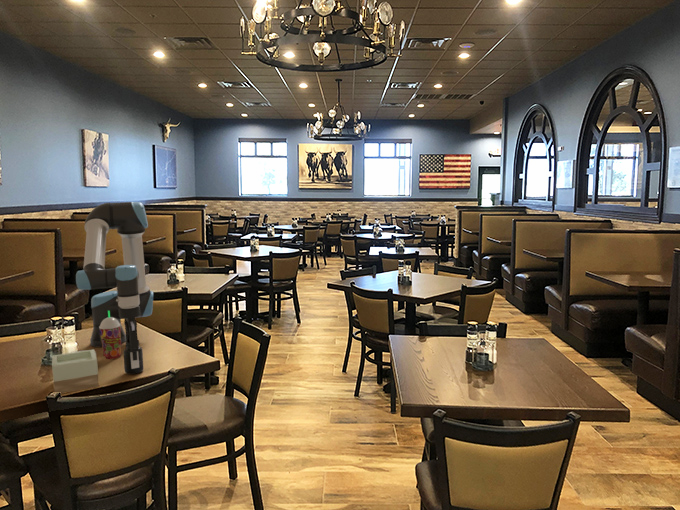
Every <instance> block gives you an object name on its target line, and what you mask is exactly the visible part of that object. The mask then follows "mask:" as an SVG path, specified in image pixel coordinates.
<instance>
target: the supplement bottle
mask: <svg viewBox="0 0 680 510" xmlns="http://www.w3.org/2000/svg"><path fill="white" fill-rule="evenodd" d="M138 348H139V351H138V356H139V368H134V369H132V368H131V356H130V353H129V351H130V350H131V349H130V341H129V340H128V341H125V348H124V349H123V352H122V353H123V354H122V355H123V367H124V373H125V374H127V375H133V374H134V375H136V374H139V373H142V372H143V371H144V356H143V355H144V354H143V348H142V347H141V346H140V340H139V339H138Z"/></svg>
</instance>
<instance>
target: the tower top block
mask: <svg viewBox="0 0 680 510" xmlns="http://www.w3.org/2000/svg"><path fill="white" fill-rule="evenodd" d="M79 351H80V352H77V351H73V352H67V353H62V354H61V353H60V354H55V355H54V354H53V355H52V356H51V370H52V380H53V382H56V381H62V380H68V379H74V378H80V377H85V376H91V375H97V374H98V375H99V370H98V369H99V368H98V358H97V353H96V354H95V352H96V351H95V348H94V349H87V350H86V351H85V350H79Z"/></svg>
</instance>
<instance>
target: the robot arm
mask: <svg viewBox="0 0 680 510" xmlns="http://www.w3.org/2000/svg"><path fill="white" fill-rule="evenodd" d="M84 221H85V222H84V231H85V233H86V235H85V246H84V247H85V248H84V256H83V257H84V258H83V269H82V270H78V271H76V274H75V283H76V287H77V289H78V290H80V291H82V290H83V291H91V290H98V289H99V290H100V289H111V288H112V289H113V288H116V290H109V291H104V292H100V293H98V294H95V295H93V296H92V297H91V299H90V300H91V301H90V305H91V306H90V308H91V316H92V325H93V326H92V327H93V328H92V333H91V336H90V341H89V342H90V346H91V347H94V348H102V342H101V336H100V329H99V326H100V324H101V322H102V321H103V320H104V319H105V318H107V317H108V311H110V317H114V318H116V319H117V320H118V321H119V323H120V324H121V344H124V343H126V341H128V340H129V341H130V349H131V350H130V351H129V353H130V356H131V368H132V369H134V368H139V356H138V351H139V348H138V340H139V338H138V322H137V320H136V319H135V318H143V317H144V318H145V317H149V316H151V315H152V314H153V308H154V306H153V305H154V291H153V290H151V288H150V286H149V285H147V281H146V279H147V278H146V271H145V269H146V268H145V267H146V266H145V256H144V246H143V245H144V244H143V235H144V234H145V232H146V229H147V228H148V227H149V222H148V217H147V213H146V209H145V204H143V203H142V202H139V201H126V202H124V201H123V202H122V201H121V202H106V203H101V204H99V205H97V206H95V207H94V208H93V209H92V210H91V211H90V212H89V214H88V215H87V216H86V219H85V220H84ZM110 230H116V231H117V234H118V235H119V236H120V237H121V244H122V245H121V247H122V255H123V256H122V257H123V265H117V266H116V267H115V268H105V266H106V251H107V250H106V246H107V234H108V233H109V231H110ZM121 320H123V323H124V328H123V326H122V323H121V322H122V321H121Z"/></svg>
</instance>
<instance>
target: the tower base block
mask: <svg viewBox="0 0 680 510" xmlns="http://www.w3.org/2000/svg"><path fill="white" fill-rule="evenodd" d="M99 379H100V378H99V373H98V374H97V375H91V376H85V377H80V378H74V379H68V380H62V381H56V382H53V383H52V384H53V391H54V392H61V393H62V394H66V393H65V392H68V393H71V392H70V391H73V392H78V391H82V390H88V389H93V388H97V386H99V387H100V381H99ZM77 390H78V391H77ZM54 392H53V393H54Z"/></svg>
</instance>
